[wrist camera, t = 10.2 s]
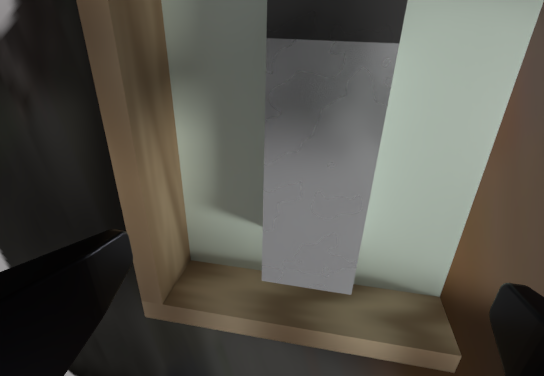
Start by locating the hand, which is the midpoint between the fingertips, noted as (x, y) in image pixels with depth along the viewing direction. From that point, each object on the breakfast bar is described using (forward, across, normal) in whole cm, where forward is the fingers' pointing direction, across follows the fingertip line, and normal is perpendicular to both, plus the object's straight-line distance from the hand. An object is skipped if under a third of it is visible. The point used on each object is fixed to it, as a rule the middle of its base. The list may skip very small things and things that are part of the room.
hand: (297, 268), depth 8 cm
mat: (+9, 0, +1) cm, 9 cm away
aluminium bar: (+9, 0, 0) cm, 9 cm away
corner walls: (+9, 0, +1) cm, 9 cm away
